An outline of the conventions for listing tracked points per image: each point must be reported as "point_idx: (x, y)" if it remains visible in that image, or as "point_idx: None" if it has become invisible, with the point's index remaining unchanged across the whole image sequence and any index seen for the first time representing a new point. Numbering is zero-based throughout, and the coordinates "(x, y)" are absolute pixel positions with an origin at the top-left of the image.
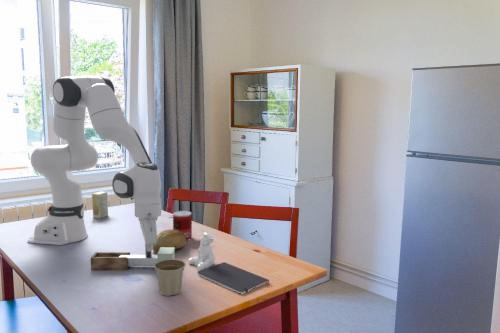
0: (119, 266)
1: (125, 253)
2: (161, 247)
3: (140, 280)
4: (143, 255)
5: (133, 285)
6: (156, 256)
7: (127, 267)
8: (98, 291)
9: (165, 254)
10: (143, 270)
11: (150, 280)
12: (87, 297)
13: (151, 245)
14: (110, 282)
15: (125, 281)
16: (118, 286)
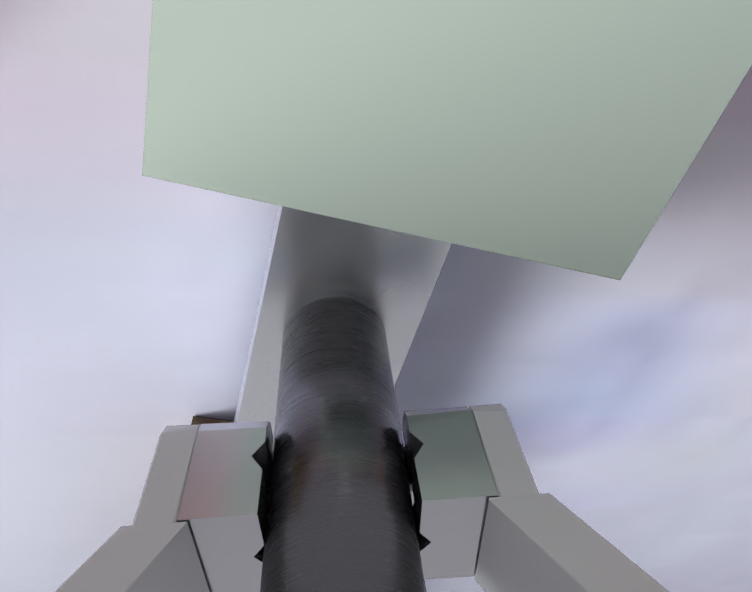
0: None
1: None
2: (162, 146)
3: (676, 330)
4: (270, 403)
5: (748, 382)
6: None
7: None
8: (691, 556)
9: (726, 79)
10: None
11: (741, 239)
12: (737, 586)
13: (575, 530)
14: (579, 517)
15: (621, 437)
16: (690, 472)
